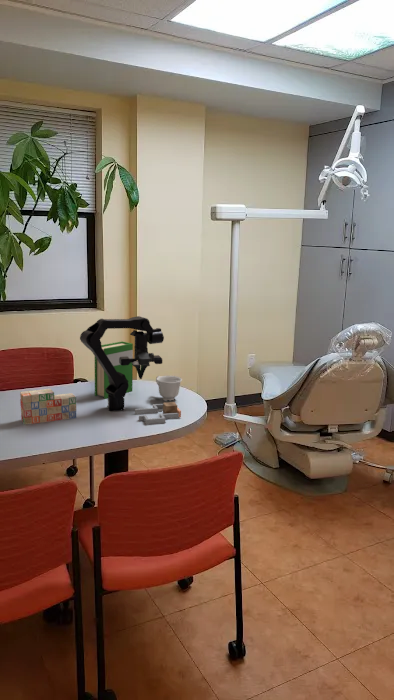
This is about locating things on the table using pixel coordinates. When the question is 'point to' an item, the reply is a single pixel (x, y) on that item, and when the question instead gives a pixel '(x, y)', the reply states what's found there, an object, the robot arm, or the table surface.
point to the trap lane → (156, 409)
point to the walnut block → (169, 407)
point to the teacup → (168, 386)
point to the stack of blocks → (46, 406)
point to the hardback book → (114, 354)
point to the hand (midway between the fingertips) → (140, 378)
